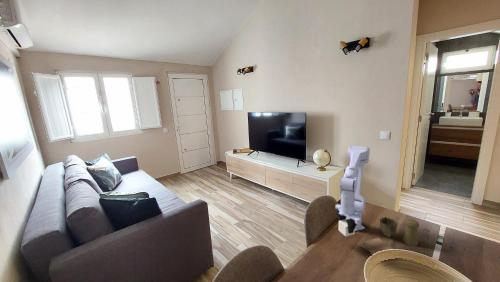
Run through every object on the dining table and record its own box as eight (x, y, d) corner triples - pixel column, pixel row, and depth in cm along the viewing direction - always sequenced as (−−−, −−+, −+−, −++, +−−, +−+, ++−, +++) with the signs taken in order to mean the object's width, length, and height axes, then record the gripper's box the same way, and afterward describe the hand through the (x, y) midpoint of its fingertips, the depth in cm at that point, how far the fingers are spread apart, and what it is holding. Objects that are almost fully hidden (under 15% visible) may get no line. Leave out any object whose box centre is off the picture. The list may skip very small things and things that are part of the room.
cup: (390, 242, 102) (392, 227, 100) (375, 233, 108) (376, 219, 106) (399, 236, 105) (400, 222, 103) (384, 229, 111) (385, 215, 110)
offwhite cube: (338, 230, 102) (338, 220, 101) (347, 228, 103) (347, 218, 102) (345, 236, 97) (345, 226, 96) (354, 234, 98) (355, 224, 97)
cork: (421, 246, 98) (423, 224, 96) (406, 245, 99) (408, 224, 97) (414, 237, 104) (416, 217, 101) (400, 236, 105) (402, 216, 103)
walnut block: (362, 247, 100) (362, 241, 99) (378, 243, 102) (378, 237, 101) (378, 261, 91) (378, 254, 91) (394, 256, 94) (395, 250, 93)
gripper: (330, 197, 103) (329, 222, 106) (351, 212, 89) (350, 240, 92) (342, 195, 105) (341, 219, 108) (365, 209, 91) (363, 237, 94)
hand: (346, 229), depth 100 cm, fingers closed on offwhite cube, 5 cm apart
